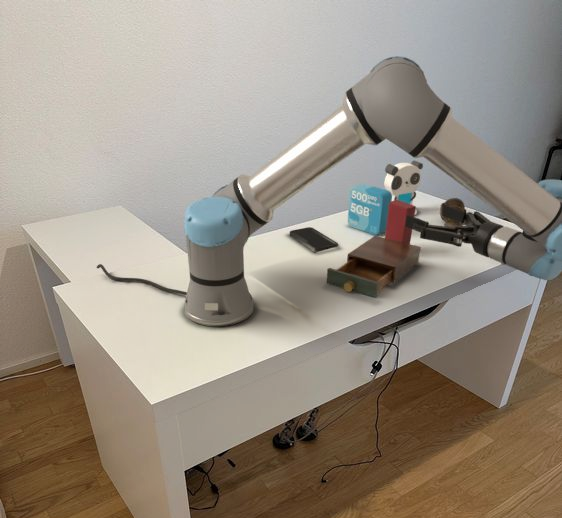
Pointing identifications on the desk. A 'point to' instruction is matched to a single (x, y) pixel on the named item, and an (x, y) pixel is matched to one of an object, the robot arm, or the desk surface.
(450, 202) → the vintage travel clock
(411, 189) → the panda figurine
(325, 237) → the phone
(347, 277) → the drawer
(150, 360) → the desk surface
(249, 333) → the desk surface
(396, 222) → the card box
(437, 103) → the robot arm
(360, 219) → the data package
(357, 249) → the box
